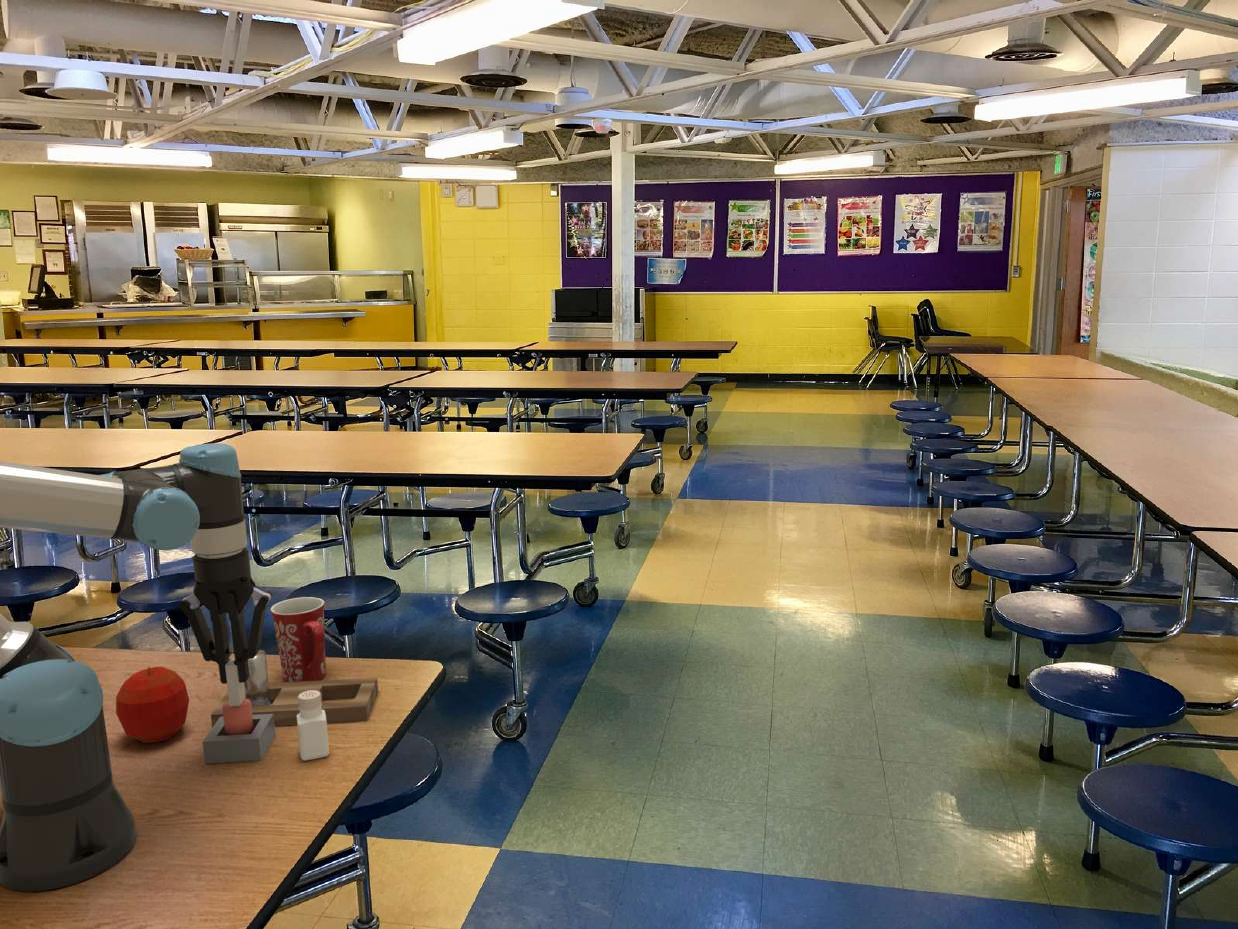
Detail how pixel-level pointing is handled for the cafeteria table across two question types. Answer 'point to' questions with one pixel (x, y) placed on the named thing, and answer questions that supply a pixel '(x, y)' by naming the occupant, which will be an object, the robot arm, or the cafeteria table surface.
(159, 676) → the apple
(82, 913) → the cafeteria table surface
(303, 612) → the mug
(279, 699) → the board
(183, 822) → the cafeteria table surface
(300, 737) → the pepper shaker
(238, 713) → the button
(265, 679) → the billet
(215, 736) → the button housing
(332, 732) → the cafeteria table surface
